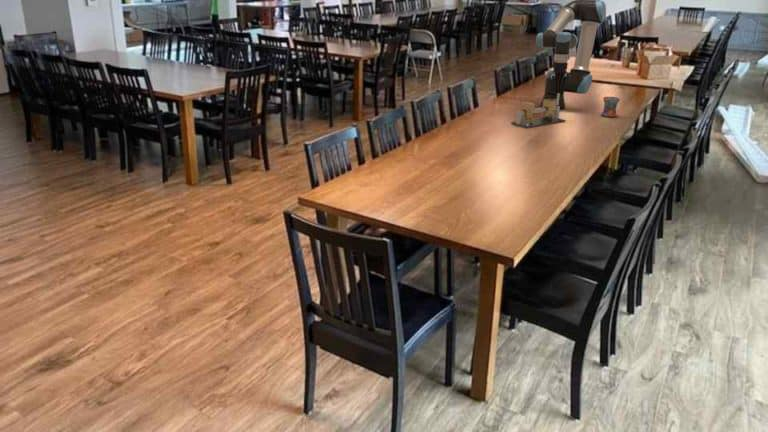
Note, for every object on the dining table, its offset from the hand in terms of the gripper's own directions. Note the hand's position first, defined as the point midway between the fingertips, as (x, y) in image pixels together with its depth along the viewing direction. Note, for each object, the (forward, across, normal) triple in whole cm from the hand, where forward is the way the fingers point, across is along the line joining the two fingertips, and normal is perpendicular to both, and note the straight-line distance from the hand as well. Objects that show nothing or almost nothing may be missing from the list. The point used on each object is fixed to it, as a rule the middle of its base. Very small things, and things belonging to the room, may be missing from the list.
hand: (555, 104), depth 341 cm
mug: (+10, +40, -6) cm, 41 cm away
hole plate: (+10, -10, +2) cm, 14 cm away
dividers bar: (+9, -10, +2) cm, 13 cm away
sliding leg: (+8, -3, +1) cm, 9 cm away
